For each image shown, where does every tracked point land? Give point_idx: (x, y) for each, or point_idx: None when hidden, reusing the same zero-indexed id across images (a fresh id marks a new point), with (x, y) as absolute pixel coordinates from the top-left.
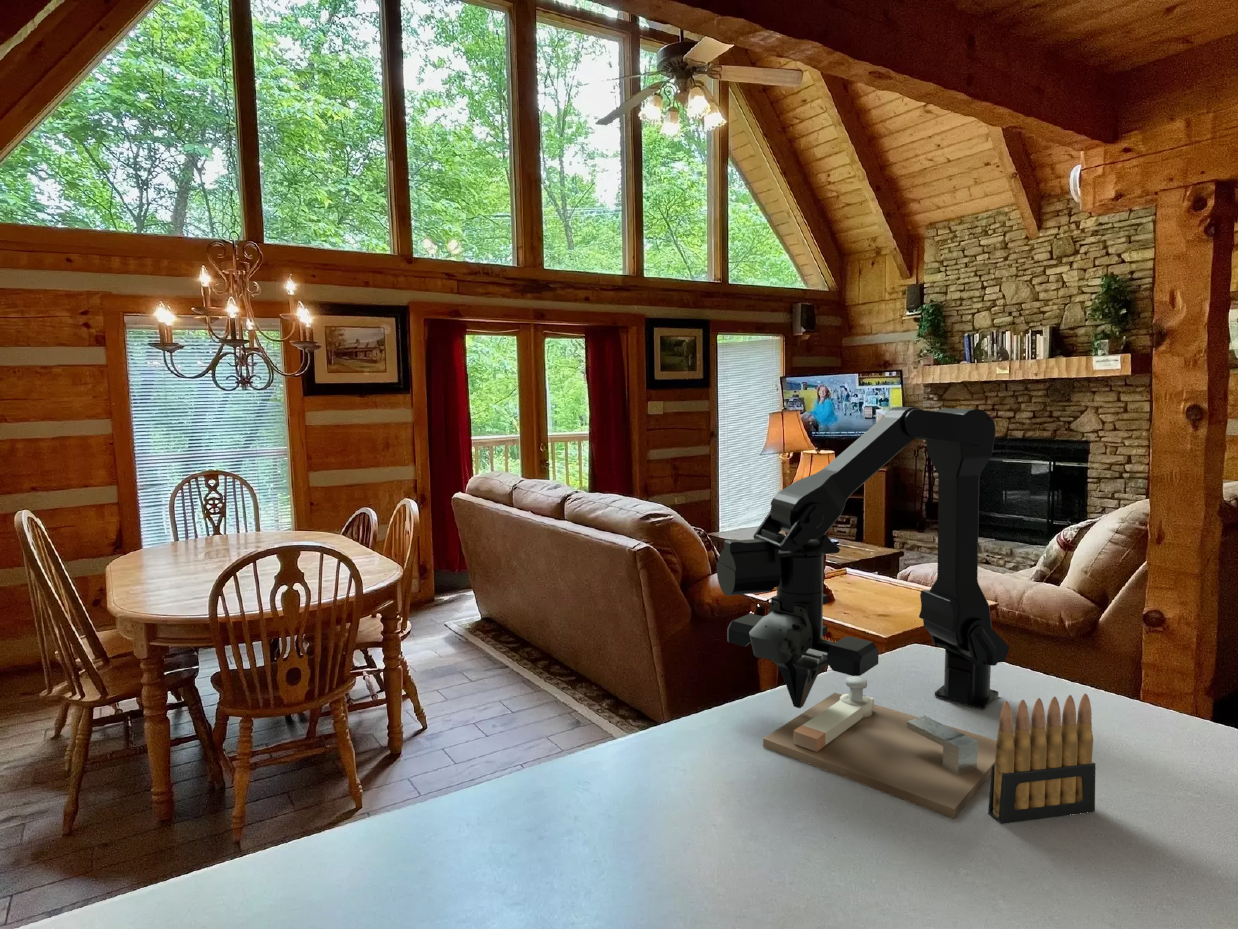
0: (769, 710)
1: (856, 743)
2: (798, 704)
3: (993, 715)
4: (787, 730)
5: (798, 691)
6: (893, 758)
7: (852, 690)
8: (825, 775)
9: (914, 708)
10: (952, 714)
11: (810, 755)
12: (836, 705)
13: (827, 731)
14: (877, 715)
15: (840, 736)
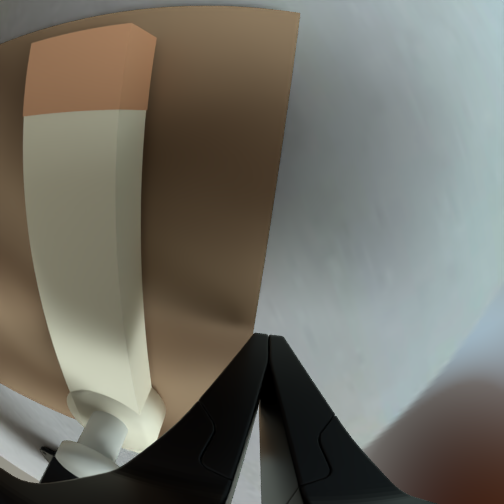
0: (386, 327)
1: (15, 210)
2: (255, 341)
3: (28, 434)
4: (236, 144)
5: (242, 382)
6: None
7: (94, 442)
8: (49, 15)
9: None
10: (51, 432)
11: (80, 22)
12: (121, 379)
13: (23, 137)
14: None
15: None
